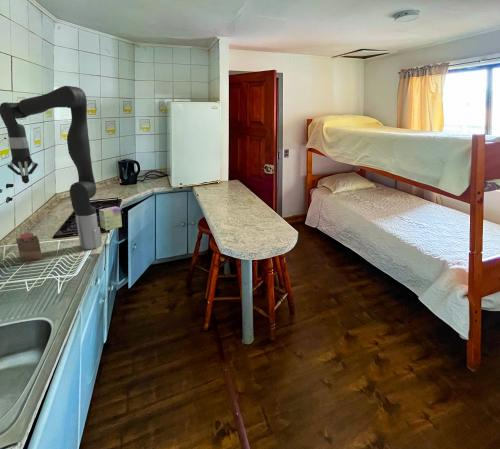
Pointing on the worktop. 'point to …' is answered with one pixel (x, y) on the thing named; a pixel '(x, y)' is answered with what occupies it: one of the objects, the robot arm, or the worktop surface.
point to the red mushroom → (26, 236)
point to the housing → (29, 249)
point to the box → (110, 218)
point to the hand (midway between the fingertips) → (26, 183)
